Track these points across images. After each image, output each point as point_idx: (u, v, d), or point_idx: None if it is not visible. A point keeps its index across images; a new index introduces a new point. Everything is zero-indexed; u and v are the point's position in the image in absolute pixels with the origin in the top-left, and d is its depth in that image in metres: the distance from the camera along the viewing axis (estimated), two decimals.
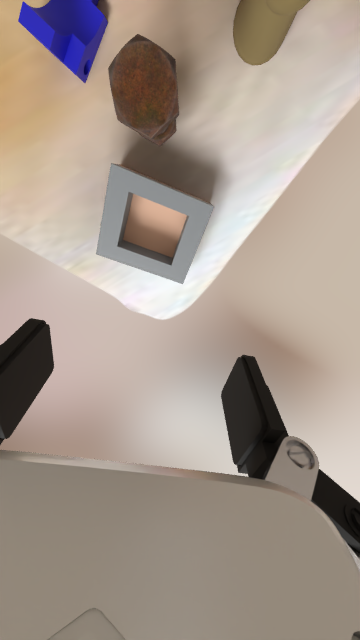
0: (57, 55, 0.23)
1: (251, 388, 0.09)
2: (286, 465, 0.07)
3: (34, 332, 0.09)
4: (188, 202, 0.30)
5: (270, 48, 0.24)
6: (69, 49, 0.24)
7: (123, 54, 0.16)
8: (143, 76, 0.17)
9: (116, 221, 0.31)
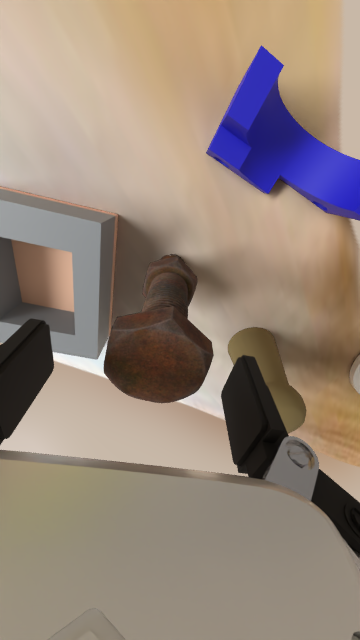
0: (225, 121, 0.14)
1: (251, 388, 0.09)
2: (286, 465, 0.07)
3: (34, 332, 0.09)
4: (90, 333, 0.22)
5: None
6: (235, 140, 0.16)
7: (188, 346, 0.10)
8: (169, 369, 0.11)
9: (16, 230, 0.17)
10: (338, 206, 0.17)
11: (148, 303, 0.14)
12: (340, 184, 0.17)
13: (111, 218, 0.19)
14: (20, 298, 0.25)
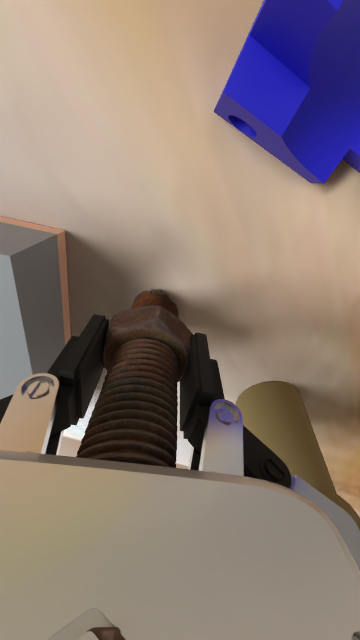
0: (266, 10, 0.06)
1: (195, 359, 0.10)
2: (218, 429, 0.07)
3: (100, 326, 0.10)
4: None
5: None
6: (278, 70, 0.08)
7: None
8: None
9: None
10: None
11: (87, 448, 0.06)
12: None
13: (45, 240, 0.11)
14: None
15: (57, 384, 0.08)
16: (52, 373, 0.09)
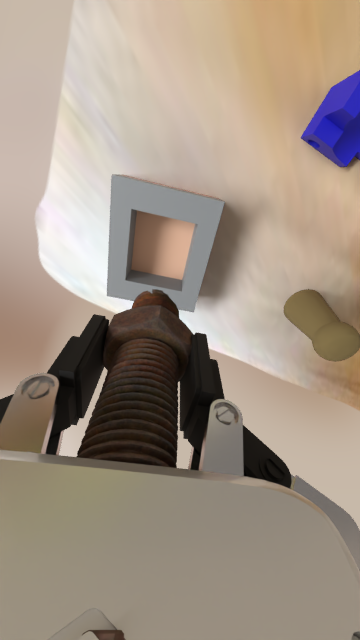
0: (333, 113, 0.21)
1: (195, 359, 0.10)
2: (218, 429, 0.07)
3: (101, 326, 0.10)
4: (194, 289, 0.30)
5: (292, 321, 0.35)
6: (332, 126, 0.22)
7: None
8: None
9: (162, 207, 0.24)
10: None
11: (87, 448, 0.06)
12: None
13: (220, 200, 0.26)
14: (131, 266, 0.32)
15: (57, 384, 0.08)
16: (52, 373, 0.09)
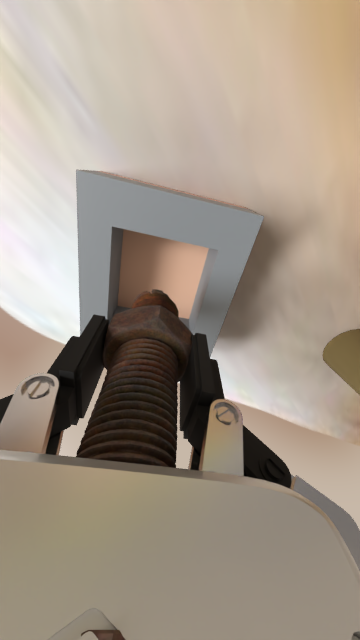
0: None
1: (195, 359, 0.10)
2: (218, 429, 0.07)
3: (101, 326, 0.10)
4: (208, 339, 0.20)
5: (338, 372, 0.26)
6: None
7: None
8: None
9: (162, 225, 0.15)
10: None
11: (87, 448, 0.06)
12: None
13: (252, 211, 0.17)
14: (117, 301, 0.22)
15: (57, 384, 0.08)
16: (52, 373, 0.09)
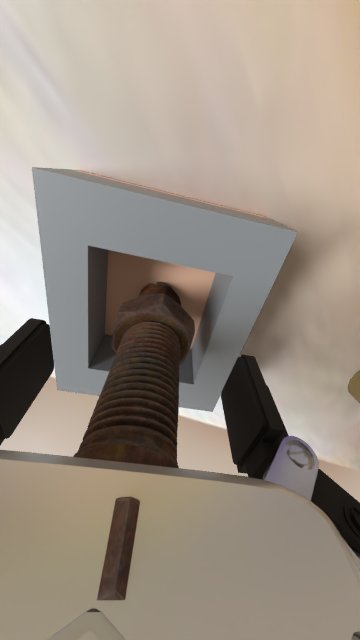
0: None
1: (251, 388, 0.09)
2: (286, 465, 0.07)
3: (34, 332, 0.09)
4: (216, 381, 0.16)
5: None
6: None
7: None
8: None
9: (157, 243, 0.11)
10: None
11: (103, 405, 0.08)
12: None
13: (275, 223, 0.13)
14: (104, 330, 0.18)
15: None
16: None
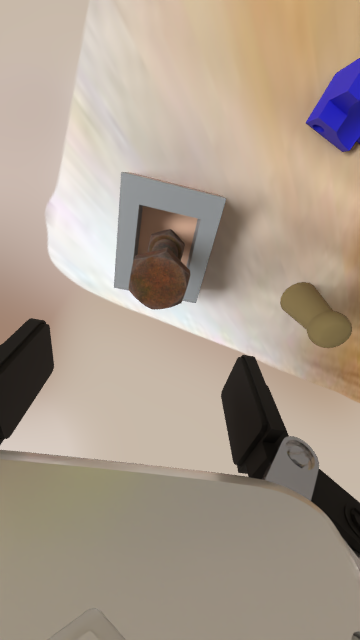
0: (338, 96, 0.22)
1: (251, 388, 0.09)
2: (286, 465, 0.07)
3: (34, 332, 0.09)
4: (197, 281, 0.31)
5: (289, 312, 0.37)
6: (337, 110, 0.23)
7: (175, 267, 0.19)
8: (166, 283, 0.20)
9: (168, 203, 0.26)
10: None
11: None
12: None
13: (222, 197, 0.28)
14: None
15: None
16: None
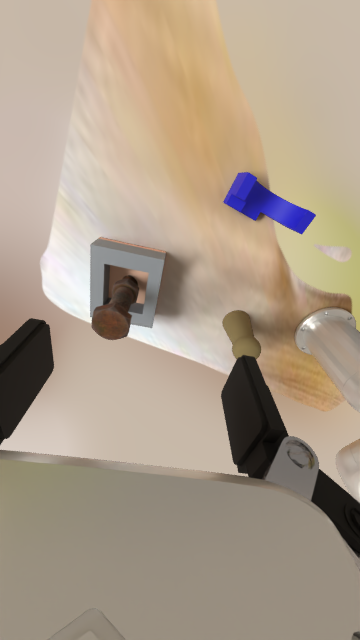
0: (234, 195, 0.33)
1: (251, 388, 0.09)
2: (286, 465, 0.07)
3: (34, 332, 0.09)
4: (151, 313, 0.43)
5: None
6: (238, 199, 0.34)
7: (119, 315, 0.30)
8: (115, 324, 0.31)
9: (124, 263, 0.38)
10: (288, 226, 0.35)
11: (110, 301, 0.34)
12: (289, 216, 0.35)
13: None
14: (108, 295, 0.45)
15: None
16: None
